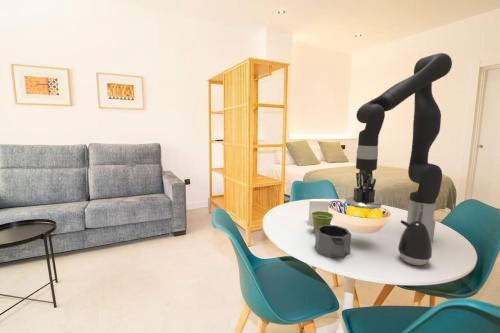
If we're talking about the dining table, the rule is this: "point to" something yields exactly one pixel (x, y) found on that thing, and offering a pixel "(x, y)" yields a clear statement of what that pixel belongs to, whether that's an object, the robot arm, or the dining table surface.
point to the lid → (358, 201)
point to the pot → (332, 241)
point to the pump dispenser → (415, 243)
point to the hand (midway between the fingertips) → (363, 199)
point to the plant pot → (321, 218)
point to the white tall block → (317, 208)
